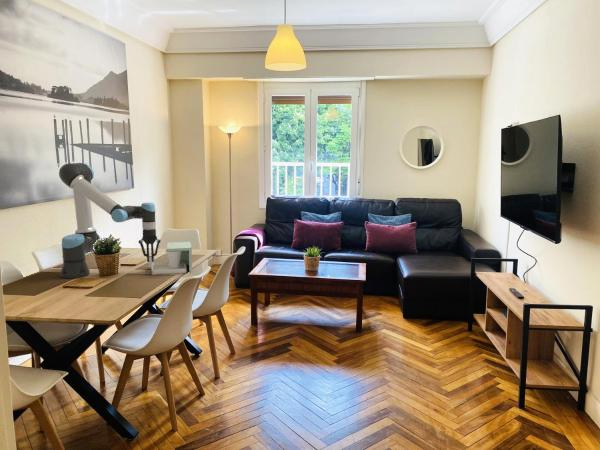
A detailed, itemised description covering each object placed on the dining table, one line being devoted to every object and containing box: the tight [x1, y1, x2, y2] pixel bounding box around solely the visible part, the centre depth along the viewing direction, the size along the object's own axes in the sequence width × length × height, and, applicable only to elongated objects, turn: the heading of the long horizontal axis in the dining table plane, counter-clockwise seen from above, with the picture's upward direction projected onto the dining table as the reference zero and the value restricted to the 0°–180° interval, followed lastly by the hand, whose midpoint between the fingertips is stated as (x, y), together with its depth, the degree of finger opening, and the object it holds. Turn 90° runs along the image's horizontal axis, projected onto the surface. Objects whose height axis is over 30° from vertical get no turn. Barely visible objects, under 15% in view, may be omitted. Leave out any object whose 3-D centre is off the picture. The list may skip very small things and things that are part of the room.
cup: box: [165, 249, 182, 268], centre depth 273 cm, size 10×10×11 cm
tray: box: [150, 261, 188, 276], centre depth 270 cm, size 20×16×5 cm
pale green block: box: [166, 241, 193, 274], centre depth 272 cm, size 14×19×16 cm
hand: (150, 267), depth 267 cm, fingers closed
